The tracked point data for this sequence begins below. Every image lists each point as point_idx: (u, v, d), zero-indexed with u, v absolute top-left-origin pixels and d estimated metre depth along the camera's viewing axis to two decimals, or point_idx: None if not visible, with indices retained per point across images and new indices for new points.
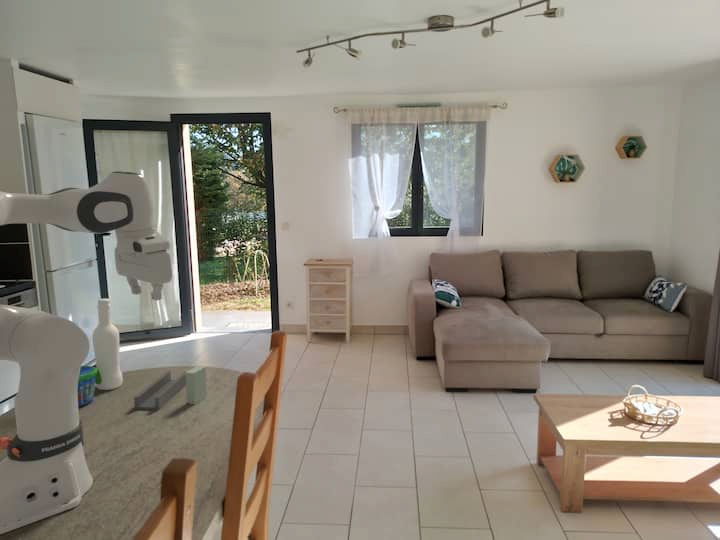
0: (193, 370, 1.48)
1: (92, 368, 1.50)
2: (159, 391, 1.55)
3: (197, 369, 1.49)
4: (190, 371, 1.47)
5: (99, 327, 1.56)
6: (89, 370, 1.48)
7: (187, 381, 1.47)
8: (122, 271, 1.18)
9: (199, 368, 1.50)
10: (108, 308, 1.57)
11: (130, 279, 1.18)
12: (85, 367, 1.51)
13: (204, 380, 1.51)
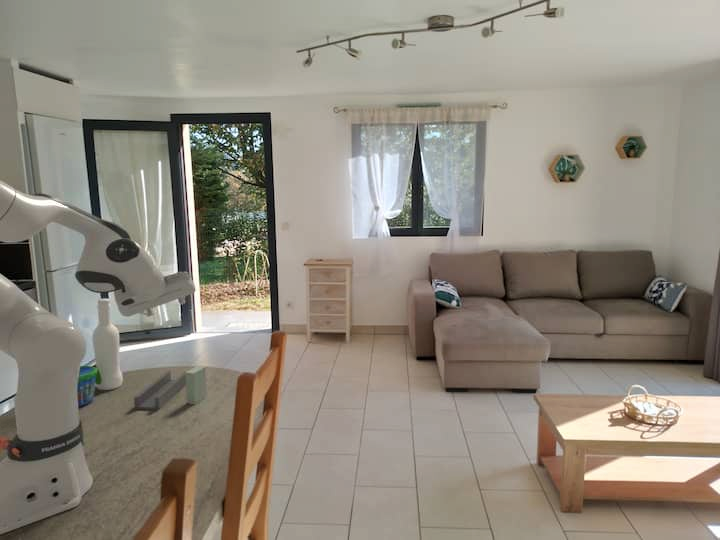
0: (193, 370, 1.48)
1: (92, 368, 1.50)
2: (159, 391, 1.55)
3: (197, 369, 1.49)
4: (190, 371, 1.47)
5: (99, 327, 1.56)
6: (89, 370, 1.48)
7: (187, 381, 1.47)
8: None
9: (199, 368, 1.50)
10: (108, 308, 1.57)
11: None
12: (85, 367, 1.51)
13: (204, 380, 1.51)
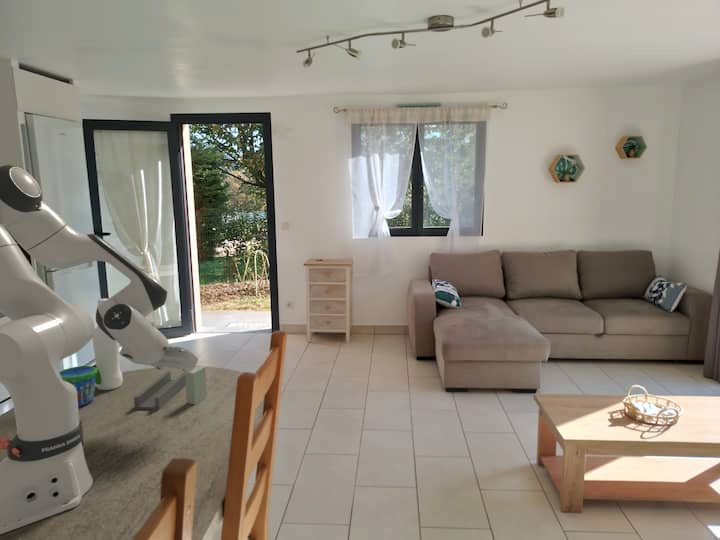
0: (193, 370, 1.48)
1: (92, 368, 1.50)
2: (159, 391, 1.55)
3: (197, 369, 1.49)
4: None
5: (99, 327, 1.56)
6: (89, 370, 1.48)
7: (187, 381, 1.47)
8: None
9: (199, 368, 1.50)
10: None
11: None
12: (85, 367, 1.51)
13: (204, 380, 1.51)
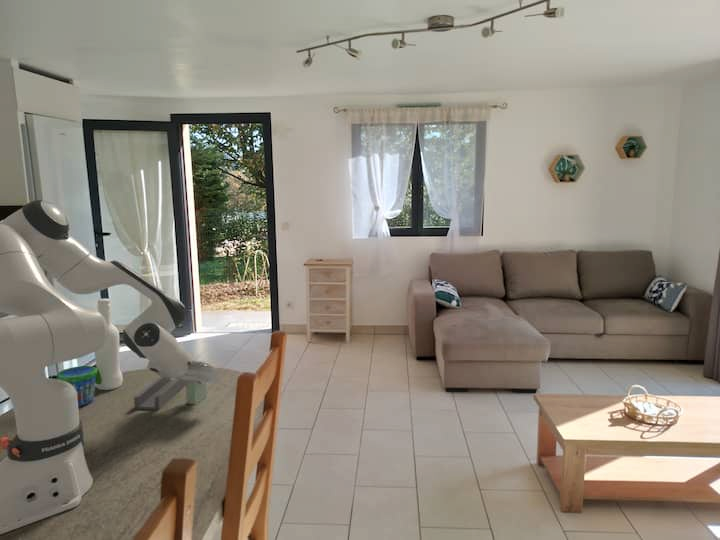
0: None
1: (92, 368, 1.50)
2: (159, 391, 1.55)
3: None
4: None
5: None
6: (89, 370, 1.48)
7: (187, 381, 1.47)
8: None
9: None
10: (108, 308, 1.57)
11: None
12: (85, 367, 1.51)
13: None
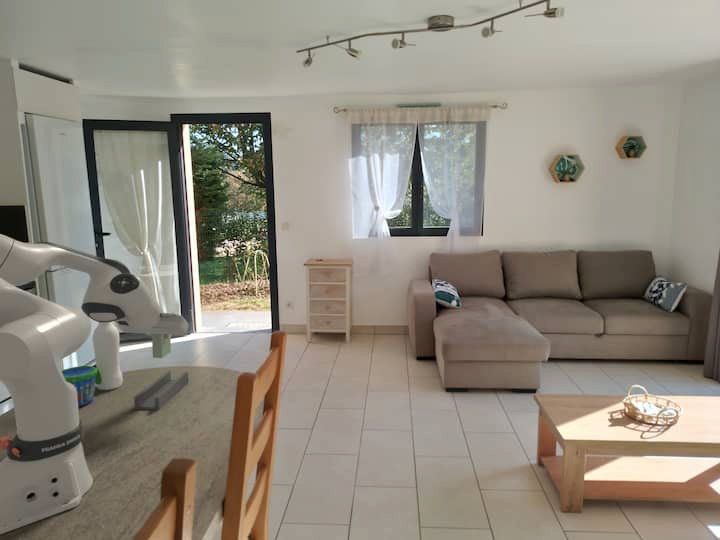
0: None
1: (92, 368, 1.50)
2: (159, 391, 1.55)
3: None
4: None
5: (99, 327, 1.56)
6: (89, 370, 1.48)
7: (154, 335, 1.48)
8: None
9: None
10: None
11: None
12: (85, 367, 1.51)
13: None
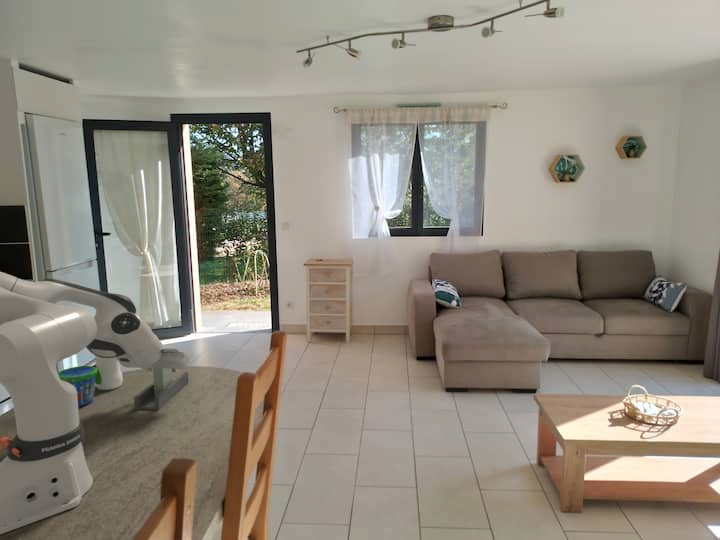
0: None
1: (92, 368, 1.50)
2: None
3: None
4: None
5: None
6: (89, 370, 1.48)
7: (155, 374, 1.50)
8: None
9: None
10: None
11: None
12: (85, 367, 1.51)
13: (170, 372, 1.55)
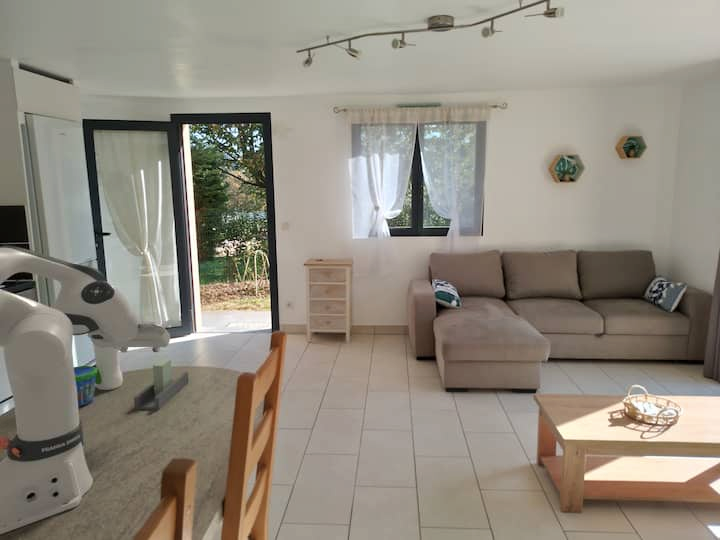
0: (160, 363, 1.52)
1: (92, 368, 1.50)
2: None
3: (163, 362, 1.53)
4: (157, 364, 1.51)
5: None
6: (89, 370, 1.48)
7: (155, 374, 1.50)
8: None
9: (165, 361, 1.54)
10: None
11: None
12: (85, 367, 1.51)
13: (170, 372, 1.55)
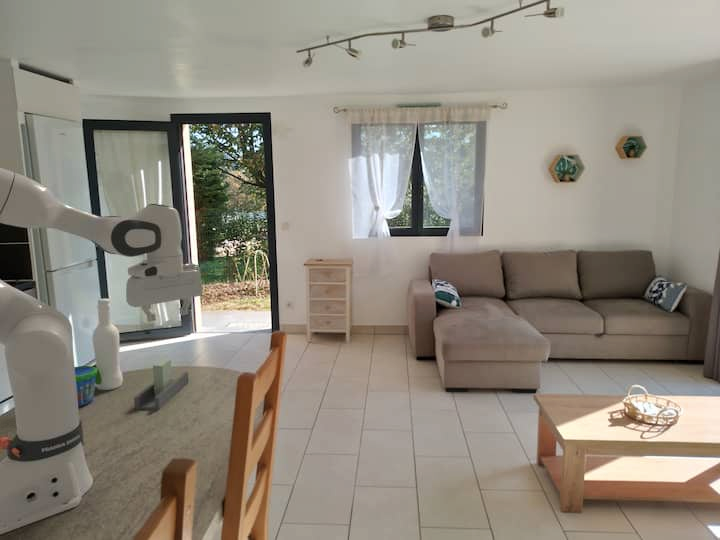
0: (160, 363, 1.52)
1: (92, 368, 1.50)
2: None
3: (163, 362, 1.53)
4: (157, 364, 1.51)
5: (99, 327, 1.56)
6: (89, 370, 1.48)
7: (155, 374, 1.50)
8: None
9: (165, 361, 1.54)
10: (108, 308, 1.57)
11: (182, 300, 1.32)
12: (85, 367, 1.51)
13: (170, 372, 1.55)
